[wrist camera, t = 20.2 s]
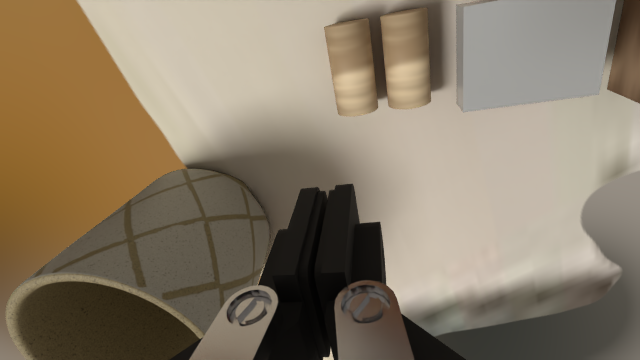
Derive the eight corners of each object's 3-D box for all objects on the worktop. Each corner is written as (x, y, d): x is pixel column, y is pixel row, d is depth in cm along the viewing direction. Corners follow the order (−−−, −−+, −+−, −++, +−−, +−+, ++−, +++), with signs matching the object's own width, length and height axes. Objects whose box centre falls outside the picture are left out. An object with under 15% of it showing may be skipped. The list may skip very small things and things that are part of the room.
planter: (118, 160, 44) (-44, 273, 27) (265, 152, 41) (189, 274, 24) (166, 275, 53) (68, 415, 36) (290, 275, 50) (248, 429, 33)
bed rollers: (325, 19, 34) (320, 23, 30) (568, -27, 30) (595, -29, 26) (340, 110, 38) (337, 123, 34) (555, 80, 34) (576, 91, 30)
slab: (456, 4, 28) (463, 6, 26) (599, -22, 26) (620, -23, 24) (456, 103, 32) (463, 112, 29) (582, 86, 30) (598, 94, 28)
